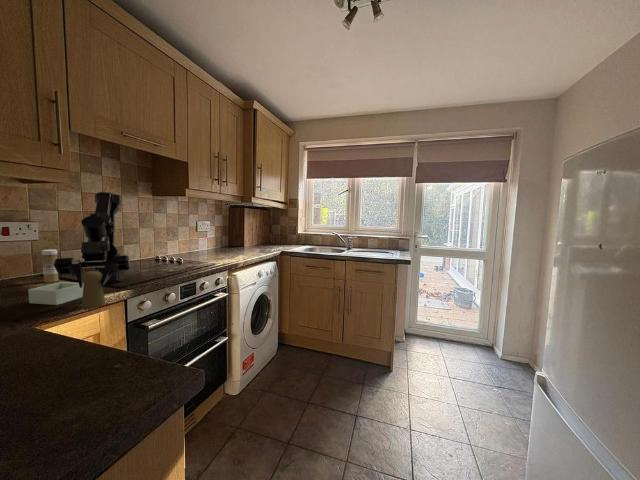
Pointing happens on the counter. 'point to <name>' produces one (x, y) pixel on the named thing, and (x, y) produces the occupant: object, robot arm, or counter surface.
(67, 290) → the end cap socket
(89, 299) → the cork
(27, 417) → the counter surface
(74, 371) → the counter surface
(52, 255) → the sprinkles bottle
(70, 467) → the counter surface
